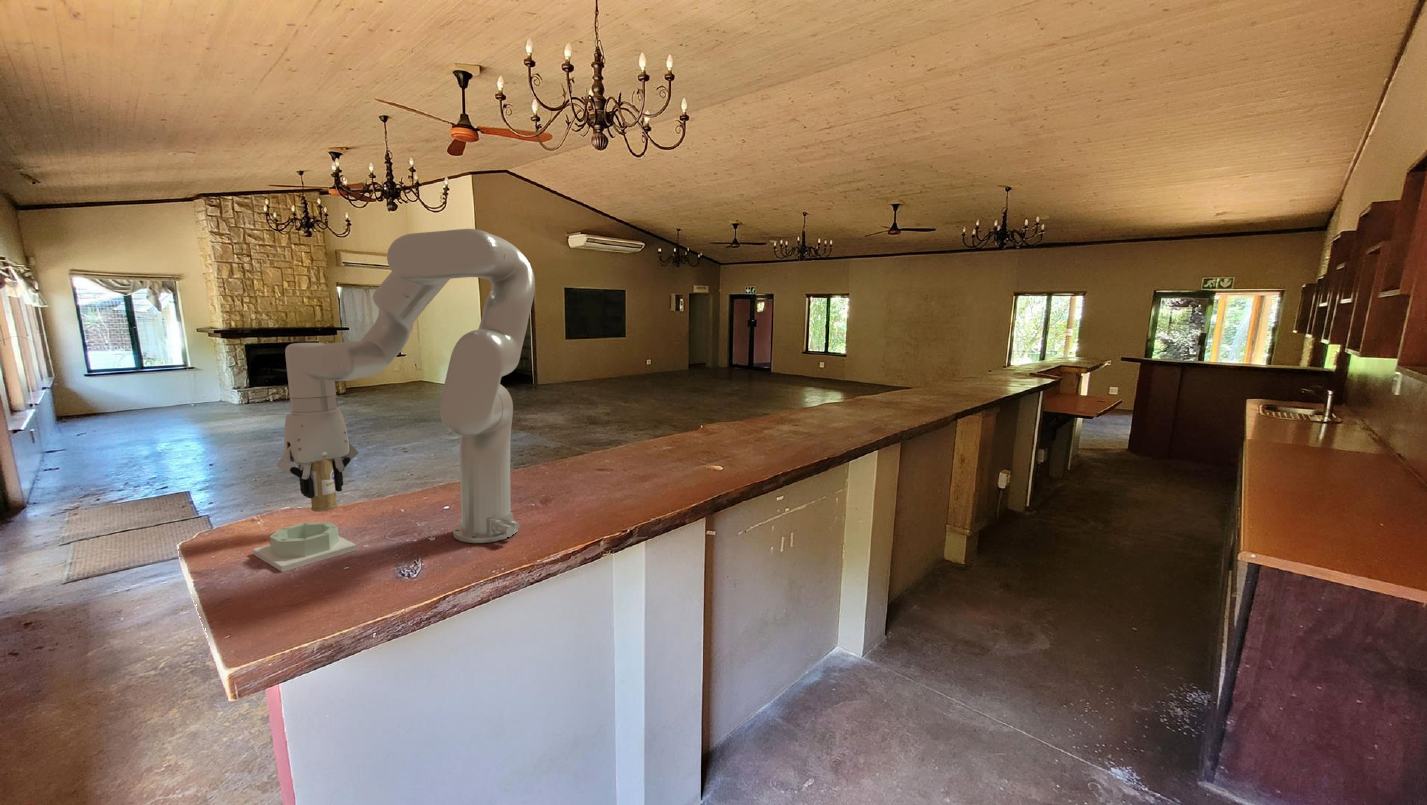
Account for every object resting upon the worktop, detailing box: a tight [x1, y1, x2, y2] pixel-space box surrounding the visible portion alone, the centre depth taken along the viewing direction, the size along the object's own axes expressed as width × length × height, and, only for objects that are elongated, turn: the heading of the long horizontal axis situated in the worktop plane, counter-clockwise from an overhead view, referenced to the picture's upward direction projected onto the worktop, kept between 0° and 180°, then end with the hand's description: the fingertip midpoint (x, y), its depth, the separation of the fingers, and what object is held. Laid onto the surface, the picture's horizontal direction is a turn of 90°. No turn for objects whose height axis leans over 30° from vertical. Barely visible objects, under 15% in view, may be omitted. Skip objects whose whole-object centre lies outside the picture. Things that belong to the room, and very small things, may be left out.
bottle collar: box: [252, 521, 358, 573], centre depth 104 cm, size 12×12×4 cm
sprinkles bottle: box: [309, 452, 339, 512], centre depth 115 cm, size 5×5×14 cm
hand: (322, 492), depth 115 cm, fingers closed on sprinkles bottle, 4 cm apart
